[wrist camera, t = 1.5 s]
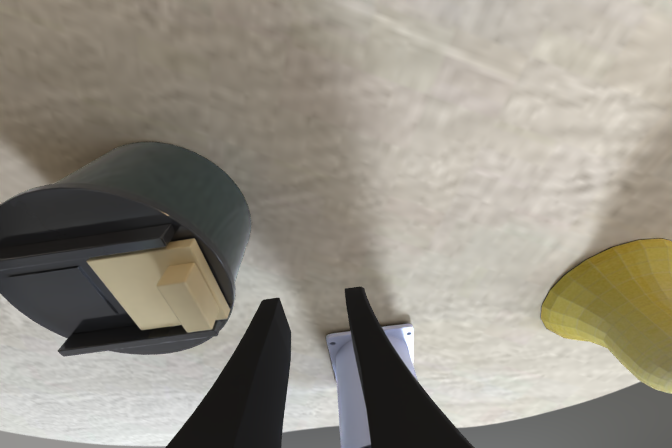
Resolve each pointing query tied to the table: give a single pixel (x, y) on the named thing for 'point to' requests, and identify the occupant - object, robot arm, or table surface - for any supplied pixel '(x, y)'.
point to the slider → (164, 286)
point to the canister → (118, 242)
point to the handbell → (621, 307)
